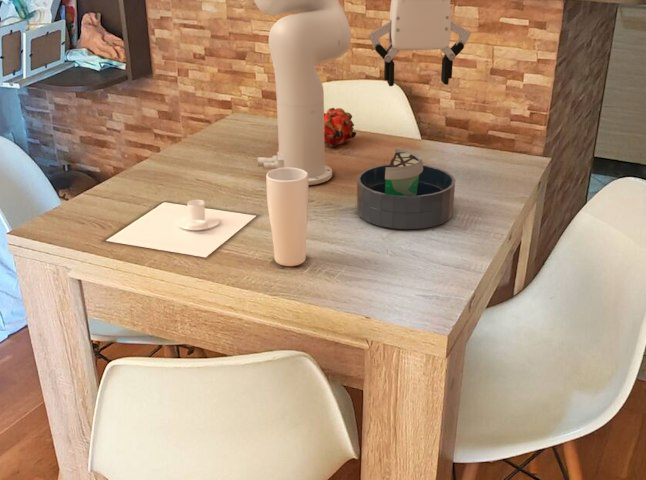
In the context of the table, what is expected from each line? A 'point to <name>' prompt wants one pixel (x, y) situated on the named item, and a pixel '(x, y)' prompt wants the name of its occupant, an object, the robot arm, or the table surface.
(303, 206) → the drinking glass
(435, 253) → the table surface
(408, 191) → the food container
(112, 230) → the table surface
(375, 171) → the bowl
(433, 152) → the table surface
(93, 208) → the table surface
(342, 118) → the dragon fruit
